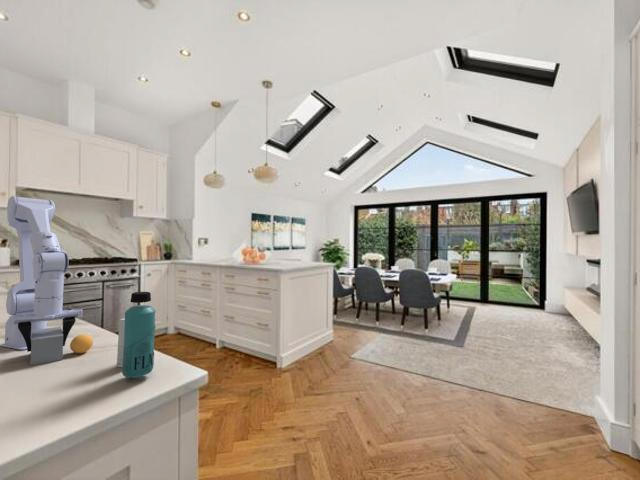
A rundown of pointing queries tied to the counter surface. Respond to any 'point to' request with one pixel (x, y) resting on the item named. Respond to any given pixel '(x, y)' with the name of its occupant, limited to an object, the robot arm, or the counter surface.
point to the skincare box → (120, 343)
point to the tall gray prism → (46, 345)
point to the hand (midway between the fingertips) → (46, 347)
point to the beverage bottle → (139, 337)
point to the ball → (81, 343)
